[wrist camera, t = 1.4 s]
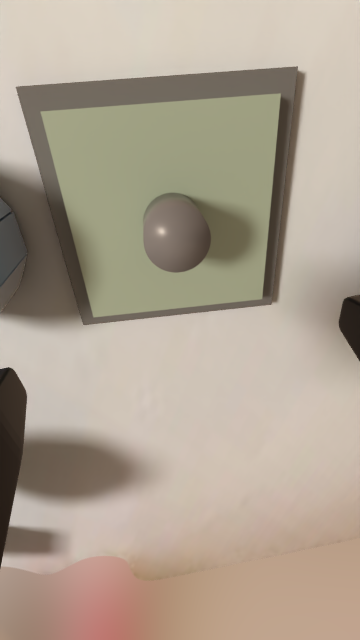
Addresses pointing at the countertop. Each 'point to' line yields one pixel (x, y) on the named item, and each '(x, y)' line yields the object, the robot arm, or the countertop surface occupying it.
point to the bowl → (10, 254)
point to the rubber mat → (157, 92)
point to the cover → (168, 199)
